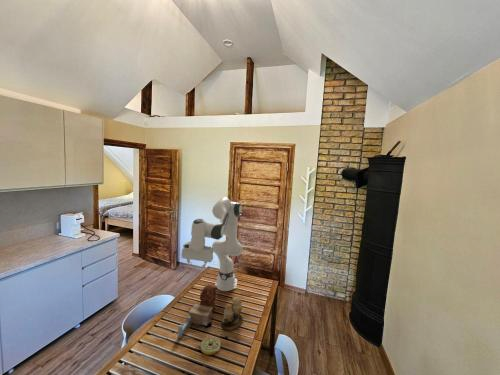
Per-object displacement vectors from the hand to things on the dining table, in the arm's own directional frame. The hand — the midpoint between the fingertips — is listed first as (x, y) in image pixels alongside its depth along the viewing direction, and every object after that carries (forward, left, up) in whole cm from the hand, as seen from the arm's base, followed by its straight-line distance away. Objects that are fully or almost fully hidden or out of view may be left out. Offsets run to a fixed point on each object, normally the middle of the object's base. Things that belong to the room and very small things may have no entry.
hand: (196, 266), depth 140 cm
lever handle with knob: (+11, -2, -36) cm, 38 cm away
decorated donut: (+18, +18, -37) cm, 45 cm away
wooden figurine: (-12, +4, -36) cm, 38 cm away
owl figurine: (-5, +24, -37) cm, 44 cm away
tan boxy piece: (+1, +3, -36) cm, 36 cm away
